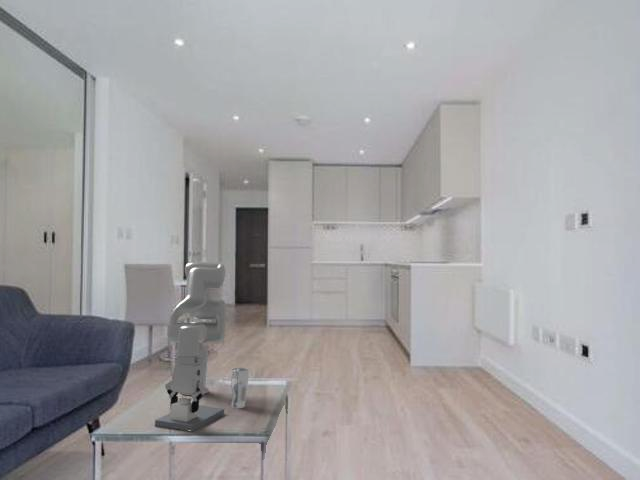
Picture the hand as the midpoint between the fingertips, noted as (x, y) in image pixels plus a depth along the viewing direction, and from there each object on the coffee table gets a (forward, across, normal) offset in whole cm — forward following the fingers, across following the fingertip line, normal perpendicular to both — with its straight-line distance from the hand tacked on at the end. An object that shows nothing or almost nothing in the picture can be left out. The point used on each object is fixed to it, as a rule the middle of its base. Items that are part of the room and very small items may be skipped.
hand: (184, 410), depth 161 cm
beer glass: (+5, -8, -27) cm, 29 cm away
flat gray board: (+5, 0, -5) cm, 7 cm away
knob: (+3, 0, 0) cm, 3 cm away
